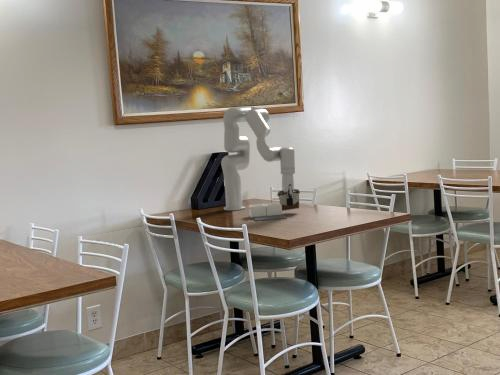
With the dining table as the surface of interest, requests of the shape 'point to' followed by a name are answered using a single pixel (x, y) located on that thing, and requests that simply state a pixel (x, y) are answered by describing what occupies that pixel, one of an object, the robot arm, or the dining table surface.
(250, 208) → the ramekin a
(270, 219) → the mat
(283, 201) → the food container
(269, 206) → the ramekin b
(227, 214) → the dining table surface
